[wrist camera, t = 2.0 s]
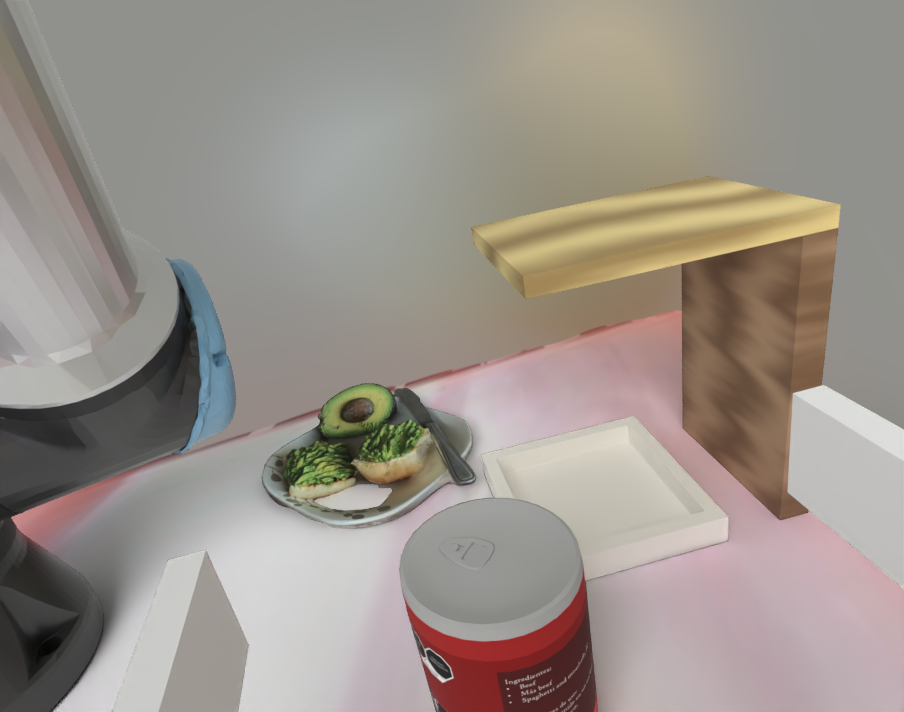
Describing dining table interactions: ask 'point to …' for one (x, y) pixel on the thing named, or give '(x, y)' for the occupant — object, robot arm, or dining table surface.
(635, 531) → the shallow square white tray
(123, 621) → the dining table surface
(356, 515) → the salad plate
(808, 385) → the wooden l-shaped stand
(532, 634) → the canned food
